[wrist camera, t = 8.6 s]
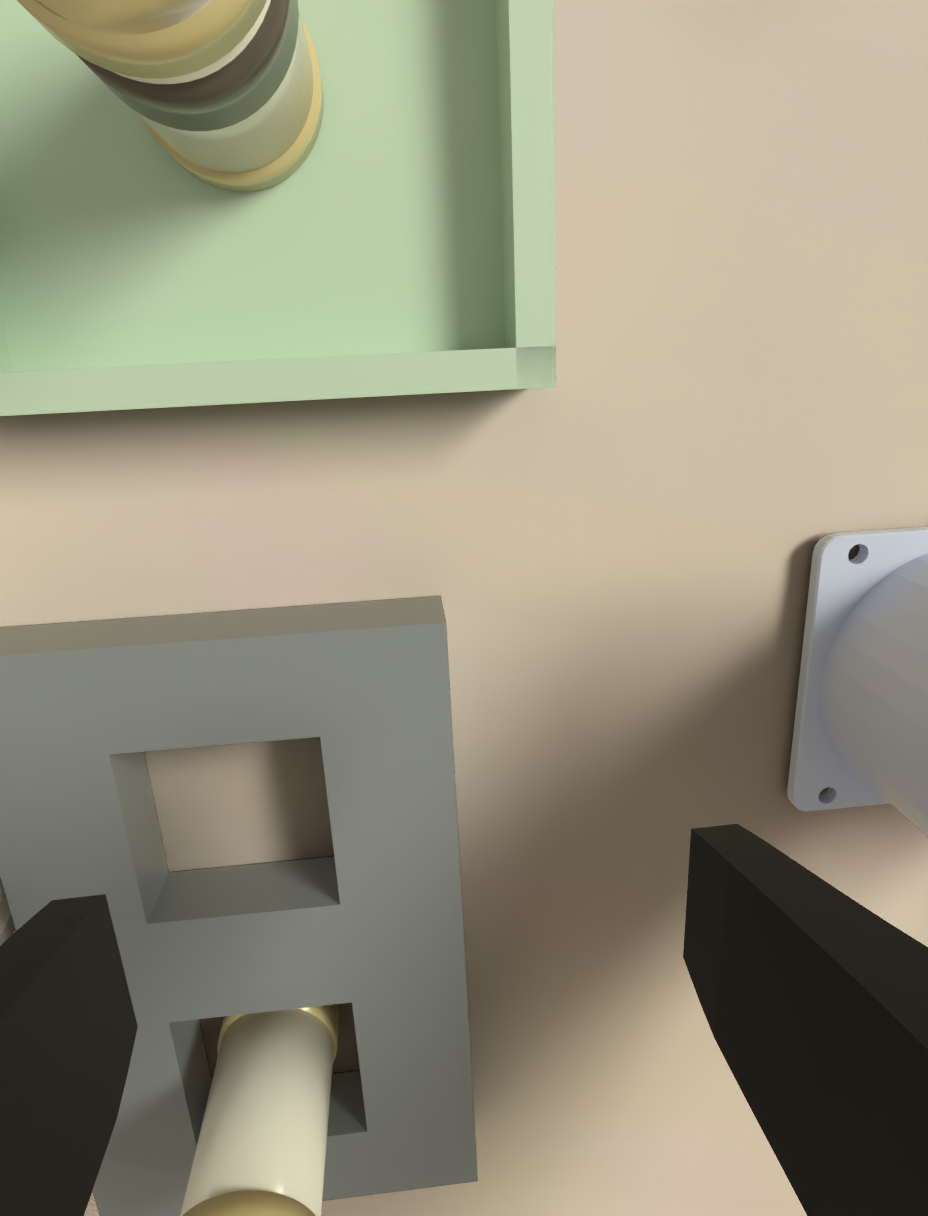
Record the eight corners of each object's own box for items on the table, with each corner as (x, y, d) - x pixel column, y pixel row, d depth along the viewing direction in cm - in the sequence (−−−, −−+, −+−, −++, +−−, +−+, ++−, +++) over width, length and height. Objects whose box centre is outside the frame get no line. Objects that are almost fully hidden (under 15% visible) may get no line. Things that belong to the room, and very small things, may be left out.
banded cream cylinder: (322, -3, 14) (261, -334, 8) (324, 197, 15) (272, 56, 9) (136, -20, 14) (-97, -380, 7) (151, 186, 15) (-45, 30, 8)
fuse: (331, 968, 22) (308, 1230, 16) (345, 1053, 24) (329, 1330, 17) (214, 983, 22) (141, 1255, 16) (234, 1068, 23) (174, 1355, 17)
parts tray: (526, -311, 14) (551, -430, 12) (536, 382, 18) (555, 387, 16) (-176, -321, 13) (-286, -451, 11) (-3, 410, 17) (-58, 419, 15)
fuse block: (440, 595, 19) (446, 623, 17) (471, 1118, 25) (477, 1180, 23) (-17, 628, 18) (-64, 660, 16) (126, 1160, 24) (103, 1229, 22)
